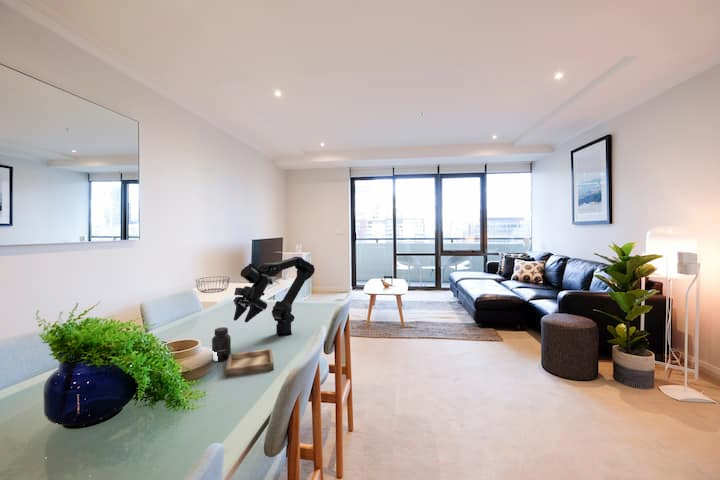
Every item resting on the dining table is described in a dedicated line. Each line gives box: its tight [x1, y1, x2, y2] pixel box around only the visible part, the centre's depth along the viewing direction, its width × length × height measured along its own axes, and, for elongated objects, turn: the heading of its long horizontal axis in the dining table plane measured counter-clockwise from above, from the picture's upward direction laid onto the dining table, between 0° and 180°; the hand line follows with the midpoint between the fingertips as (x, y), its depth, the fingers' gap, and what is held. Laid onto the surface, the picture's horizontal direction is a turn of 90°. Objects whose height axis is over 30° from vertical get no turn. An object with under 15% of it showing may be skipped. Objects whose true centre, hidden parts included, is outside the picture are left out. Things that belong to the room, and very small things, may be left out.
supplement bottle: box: [211, 326, 232, 363], centre depth 124 cm, size 7×7×12 cm
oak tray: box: [225, 348, 275, 378], centre depth 118 cm, size 16×14×2 cm
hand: (239, 321), depth 131 cm, fingers open, 9 cm apart
